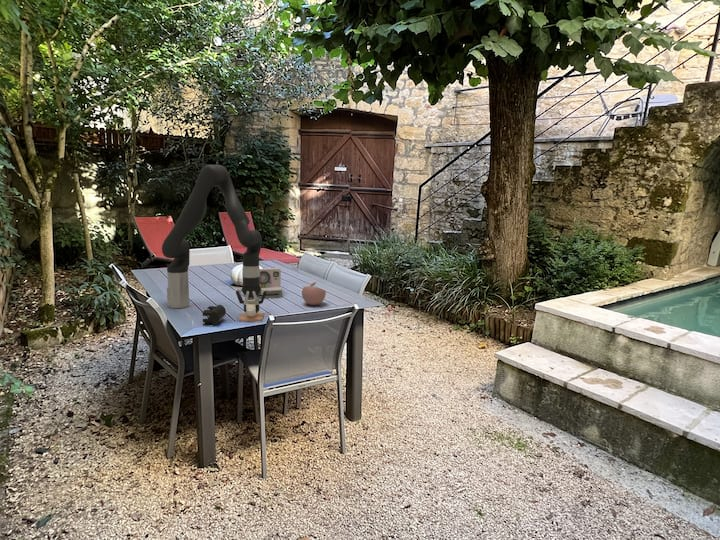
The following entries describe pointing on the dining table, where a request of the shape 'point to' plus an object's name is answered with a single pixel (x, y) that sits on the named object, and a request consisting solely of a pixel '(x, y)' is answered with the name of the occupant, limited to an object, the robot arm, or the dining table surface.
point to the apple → (313, 294)
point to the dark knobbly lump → (214, 314)
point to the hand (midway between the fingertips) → (251, 312)
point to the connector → (251, 308)
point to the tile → (251, 317)
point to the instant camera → (270, 283)
